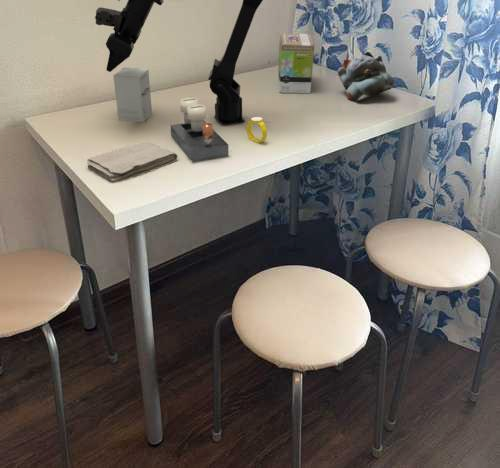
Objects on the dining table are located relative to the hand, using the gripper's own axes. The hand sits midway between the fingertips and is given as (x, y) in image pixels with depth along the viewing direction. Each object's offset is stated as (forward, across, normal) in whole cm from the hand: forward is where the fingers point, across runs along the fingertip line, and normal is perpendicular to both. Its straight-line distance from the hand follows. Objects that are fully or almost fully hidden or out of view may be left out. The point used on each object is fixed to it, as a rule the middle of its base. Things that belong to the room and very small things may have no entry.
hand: (111, 65), depth 150 cm
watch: (-7, +16, +39) cm, 43 cm away
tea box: (-12, -28, +52) cm, 60 cm away
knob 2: (-3, +19, +25) cm, 31 cm away
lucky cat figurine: (-23, -17, +69) cm, 75 cm away
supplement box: (+10, -1, +12) cm, 16 cm away
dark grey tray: (0, +19, +27) cm, 33 cm away
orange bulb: (-4, +26, +27) cm, 38 cm away
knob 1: (-2, +14, +23) cm, 27 cm away
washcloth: (+8, +29, +14) cm, 34 cm away
